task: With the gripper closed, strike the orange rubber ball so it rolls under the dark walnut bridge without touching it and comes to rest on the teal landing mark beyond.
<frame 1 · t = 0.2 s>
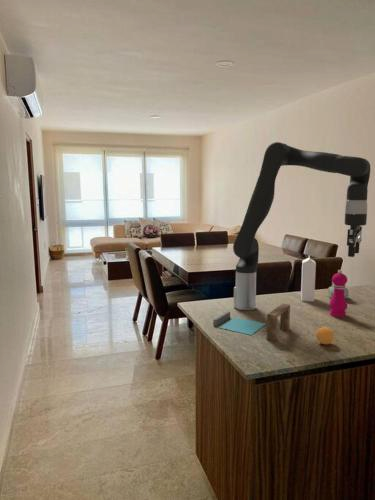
hand: (353, 254, 143), 29 cm above the table, tool pointing down, fingers open, 8 cm apart
bridge: (278, 333, 141), on the table
pepper mill: (337, 315, 161), on the table
landing mark: (242, 326, 150), on the table
stopper: (222, 321, 155), on the table
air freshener: (337, 298, 186), on the table
ball: (325, 335, 131), on the table
milk: (307, 299, 185), on the table
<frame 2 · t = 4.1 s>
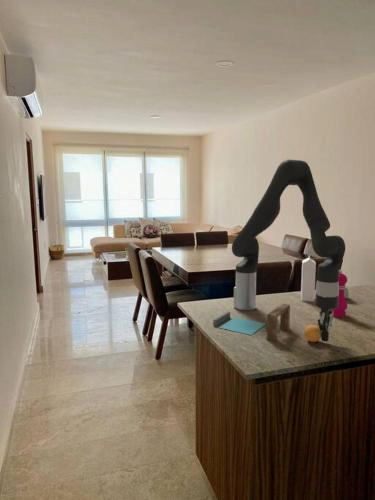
hand: (324, 340, 132), 1 cm above the table, tool pointing down, fingers closed
ball: (312, 333, 134), on the table
everything else where it was.
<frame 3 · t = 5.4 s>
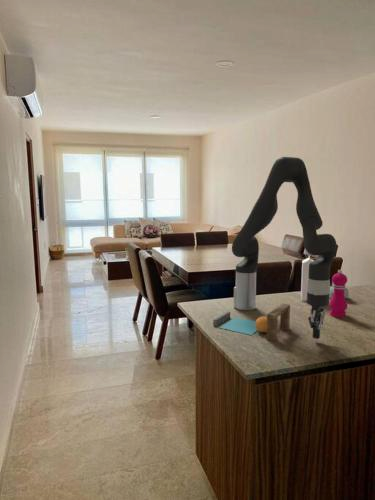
hand: (316, 337, 133), 2 cm above the table, tool pointing down, fingers closed
ball: (263, 324, 143), on the table
everything else where it was.
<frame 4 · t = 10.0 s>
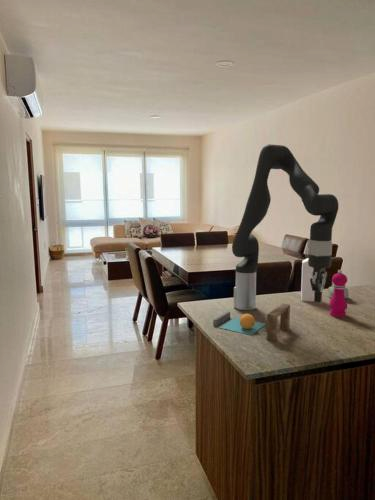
hand: (317, 301, 131), 15 cm above the table, tool pointing down, fingers closed
ball: (247, 321, 146), on the table
everything else where it was.
at the end: ball 3.3 cm from the landing mark (horizontally); ball never touched bridge; ball at rest at the end (0.0 cm/s) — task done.
